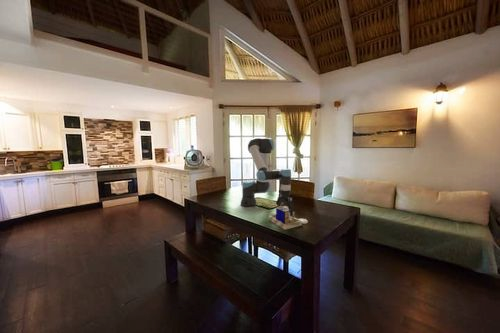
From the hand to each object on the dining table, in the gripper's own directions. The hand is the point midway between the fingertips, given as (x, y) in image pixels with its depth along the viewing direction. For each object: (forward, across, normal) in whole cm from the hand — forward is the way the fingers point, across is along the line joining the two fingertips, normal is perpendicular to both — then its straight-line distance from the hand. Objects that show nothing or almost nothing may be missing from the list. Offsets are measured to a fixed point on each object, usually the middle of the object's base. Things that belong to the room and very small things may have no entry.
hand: (284, 216), depth 158 cm
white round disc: (+4, +5, +13) cm, 15 cm away
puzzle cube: (+4, 0, 0) cm, 4 cm away
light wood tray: (+4, 0, 0) cm, 4 cm away
